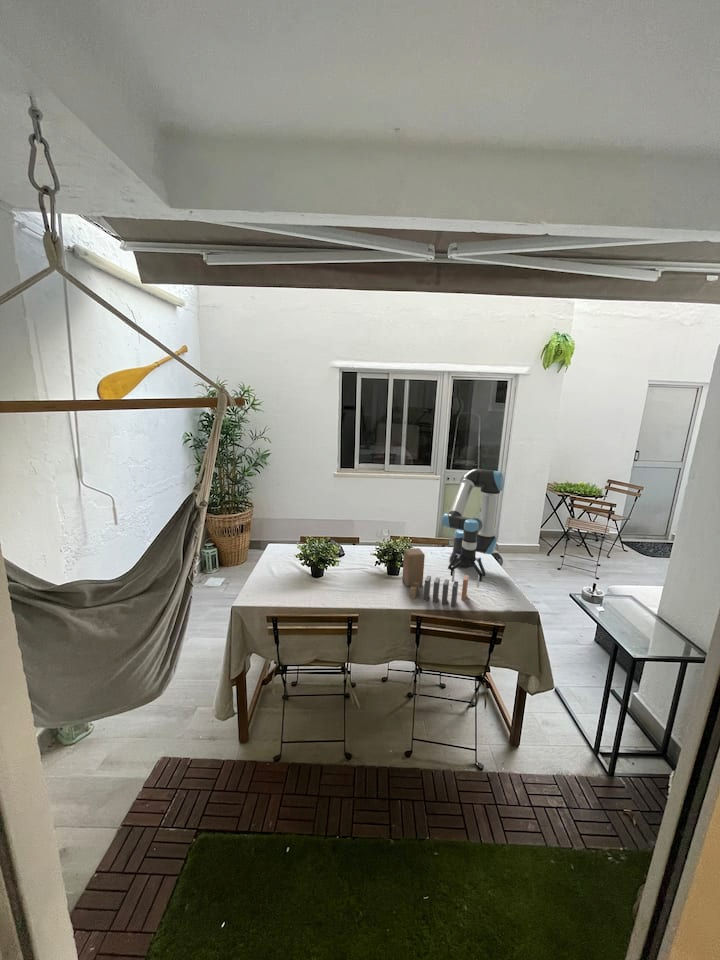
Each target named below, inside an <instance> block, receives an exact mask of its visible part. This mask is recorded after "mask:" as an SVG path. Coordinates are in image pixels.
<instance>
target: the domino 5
mask: <svg viewBox="0 0 720 960" xmlns="http://www.w3.org/2000/svg"><path fill="white" fill-rule="evenodd" d="M468 583H469V575H467V574H465V575H464V576H463V580H462V589H461V600H463V601H465V600H466V599H467V596H468ZM466 595H467V596H466Z"/></svg>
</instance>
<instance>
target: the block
mask: <svg viewBox="0 0 720 960" xmlns="http://www.w3.org/2000/svg"><path fill="white" fill-rule="evenodd" d="M424 570H425V553H424V552H423V551H422V549H421V548H419V547H417V548H416V547H414V548H404V549H403V564H402V580H403V582H404V585H406V586H407V587H411V586H412V584H413V583H414V582H418V583H419V586H423V583H424Z"/></svg>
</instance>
